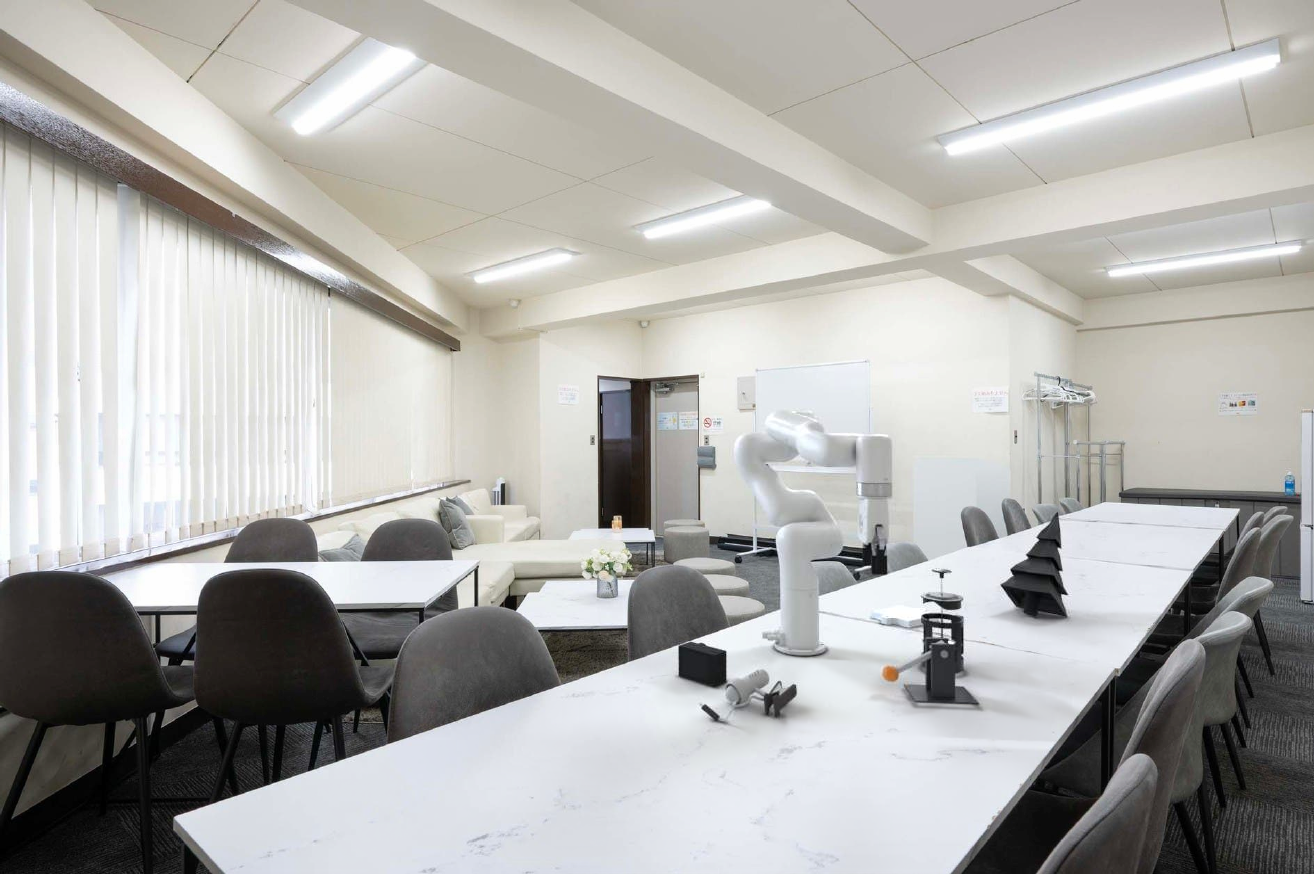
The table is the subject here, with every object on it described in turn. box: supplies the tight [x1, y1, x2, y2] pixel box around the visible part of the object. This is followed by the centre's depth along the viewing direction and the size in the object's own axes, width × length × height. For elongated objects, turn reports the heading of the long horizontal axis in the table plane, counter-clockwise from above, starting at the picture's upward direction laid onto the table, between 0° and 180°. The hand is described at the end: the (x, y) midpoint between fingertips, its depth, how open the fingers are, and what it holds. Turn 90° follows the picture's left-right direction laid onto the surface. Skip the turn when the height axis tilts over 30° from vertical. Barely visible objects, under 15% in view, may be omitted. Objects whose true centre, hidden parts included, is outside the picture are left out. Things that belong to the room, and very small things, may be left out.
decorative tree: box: [999, 511, 1069, 618], centre depth 207 cm, size 15×15×35 cm
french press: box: [920, 568, 965, 674], centre depth 155 cm, size 12×9×23 cm
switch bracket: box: [903, 636, 980, 706], centre depth 138 cm, size 12×9×12 cm
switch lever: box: [882, 640, 944, 683], centre depth 139 cm, size 14×3×3 cm, turn 84°
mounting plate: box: [871, 604, 939, 629], centre depth 199 cm, size 18×13×2 cm
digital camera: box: [677, 641, 728, 688], centre depth 150 cm, size 10×5×7 cm, turn 47°
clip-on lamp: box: [698, 668, 798, 722], centre depth 132 cm, size 12×6×18 cm
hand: (874, 569), depth 148 cm, fingers open, 9 cm apart
